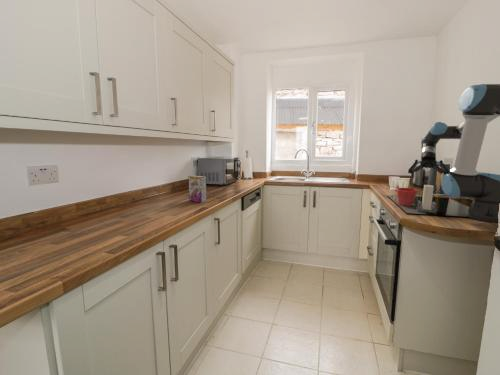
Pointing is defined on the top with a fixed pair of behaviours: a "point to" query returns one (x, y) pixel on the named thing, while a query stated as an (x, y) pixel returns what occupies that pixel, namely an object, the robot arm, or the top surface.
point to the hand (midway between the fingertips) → (428, 182)
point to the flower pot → (406, 196)
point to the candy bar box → (197, 188)
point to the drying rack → (433, 209)
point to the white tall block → (427, 197)
